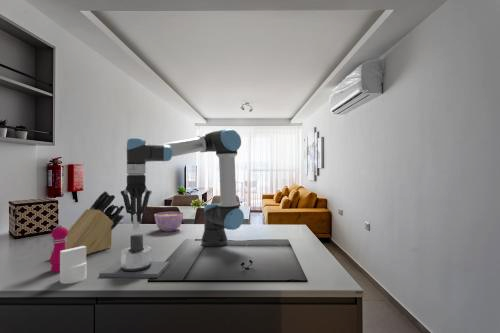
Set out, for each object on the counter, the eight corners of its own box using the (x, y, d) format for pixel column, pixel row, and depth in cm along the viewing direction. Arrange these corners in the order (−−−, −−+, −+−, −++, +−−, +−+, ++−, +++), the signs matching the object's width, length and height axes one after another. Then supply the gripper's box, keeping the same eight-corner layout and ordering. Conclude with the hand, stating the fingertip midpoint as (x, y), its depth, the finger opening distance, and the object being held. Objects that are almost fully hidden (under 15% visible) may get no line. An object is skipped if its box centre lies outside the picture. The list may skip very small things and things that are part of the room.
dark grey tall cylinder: (145, 261, 125) (144, 234, 124) (140, 265, 120) (139, 237, 119) (134, 261, 125) (133, 234, 125) (128, 265, 120) (128, 237, 120)
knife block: (126, 243, 165) (126, 190, 165) (64, 262, 133) (64, 196, 133) (112, 241, 170) (112, 190, 170) (49, 259, 138) (49, 195, 138)
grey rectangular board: (169, 264, 129) (169, 261, 129) (157, 277, 114) (157, 274, 114) (118, 264, 130) (118, 261, 130) (99, 276, 115) (99, 273, 115)
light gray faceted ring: (155, 262, 128) (155, 245, 128) (144, 272, 116) (144, 254, 116) (129, 262, 128) (129, 245, 128) (115, 272, 116) (115, 253, 116)
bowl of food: (148, 233, 192) (148, 215, 192) (162, 226, 212) (162, 211, 212) (176, 234, 189) (176, 216, 189) (187, 227, 209) (187, 211, 209)
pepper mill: (56, 266, 127) (55, 222, 127) (73, 266, 128) (72, 221, 128) (45, 272, 120) (45, 225, 120) (63, 272, 120) (63, 225, 121)
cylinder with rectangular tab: (67, 285, 107) (67, 253, 107) (55, 280, 112) (55, 250, 112) (91, 277, 115) (91, 247, 115) (79, 273, 119) (79, 244, 119)
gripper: (116, 174, 119) (116, 231, 119) (147, 174, 118) (147, 231, 118) (125, 174, 126) (125, 227, 126) (154, 174, 126) (154, 227, 126)
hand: (136, 229), depth 122 cm, fingers closed
